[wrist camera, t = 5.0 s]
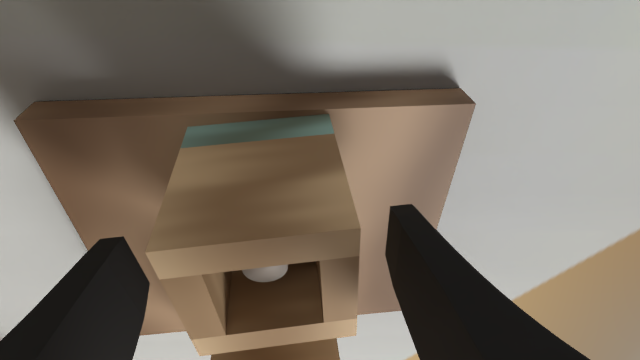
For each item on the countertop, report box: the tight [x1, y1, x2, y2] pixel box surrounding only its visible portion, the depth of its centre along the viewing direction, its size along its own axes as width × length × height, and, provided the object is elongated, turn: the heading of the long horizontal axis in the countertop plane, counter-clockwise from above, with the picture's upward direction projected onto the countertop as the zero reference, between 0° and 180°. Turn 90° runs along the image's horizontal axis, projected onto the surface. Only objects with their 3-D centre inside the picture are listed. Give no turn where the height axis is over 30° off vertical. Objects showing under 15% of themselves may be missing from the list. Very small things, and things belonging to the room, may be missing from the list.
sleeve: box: [145, 114, 361, 356], centre depth 11 cm, size 4×4×5 cm
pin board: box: [14, 88, 476, 335], centre depth 14 cm, size 14×12×5 cm
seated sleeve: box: [211, 338, 340, 360], centre depth 15 cm, size 4×4×5 cm
